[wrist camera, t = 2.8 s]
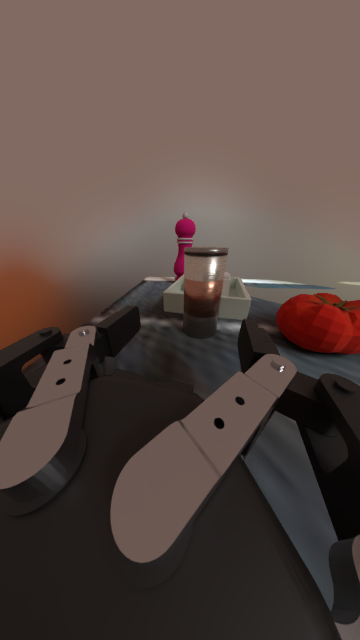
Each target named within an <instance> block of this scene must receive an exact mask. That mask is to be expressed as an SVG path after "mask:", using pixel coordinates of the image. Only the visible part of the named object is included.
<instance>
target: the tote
mask: <svg viewBox="0 0 360 640" xmlns="http://www.w3.org/2000/svg"><path fill="white" fill-rule="evenodd" d="M163 301H164V311H165V312H174V313H183V314H184V310H183V308H184V274H183V275H182V276H181V277H180V278H179V279H178V280H177V281H176V282H174V283H173V284H172V285H171V286H170V287H169V288H168V289H167V290H165V291H164V292H163ZM251 301H252V300H251V298H250V296H249V294H248V292H247V290H246V288H245V286H244V284H243V282H242V280H241V278H240V277H231V283H230V289H229V295H228V296H221V302H220V309H219V315H218V317H219V318H228V319H237V320H243V319H247V317H248V313H249V309H250V305H251Z"/></svg>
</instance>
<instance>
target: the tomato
mask: <svg viewBox="0 0 360 640" xmlns="http://www.w3.org/2000/svg"><path fill="white" fill-rule="evenodd" d="M276 322H277V325H278V328H279V330H280V332H281V333H282V334H283V335H284V336H285V337H286V338H287V339H288V340H289V341H291V342H292V343H294V344H295V345H297V346H299V347H301V348H304V349H307V350H310V351H314V352H324V353H333V352H335V353H339V354H358V353H360V300H356V301H348V302H346V301H342V300H341V299H340V298H339V297H338V296H336V295H332V294H328V293H317V294H314V295H307V294H300V295H298V296H295V297H292V298H290V299H289V300H288V301H286V302H285V303H284V304H283V305H282V306H281V307H280V309H279V310H278V312H277V315H276Z"/></svg>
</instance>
